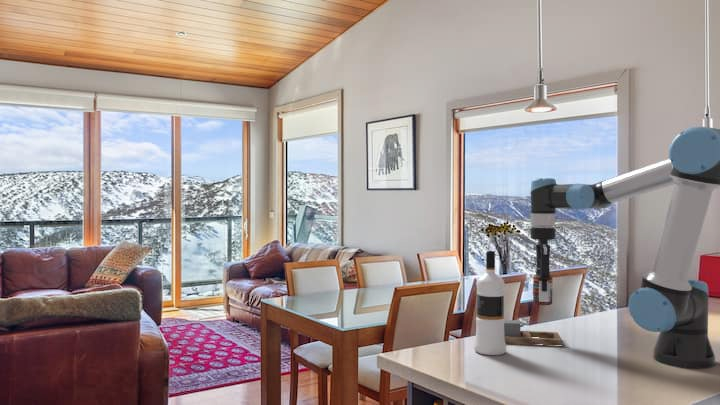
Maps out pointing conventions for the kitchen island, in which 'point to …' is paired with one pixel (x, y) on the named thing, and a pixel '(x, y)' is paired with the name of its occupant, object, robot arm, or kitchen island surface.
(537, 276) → the supplement bottle
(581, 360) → the kitchen island surface
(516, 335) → the block
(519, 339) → the brown wooden frame
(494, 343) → the vodka
